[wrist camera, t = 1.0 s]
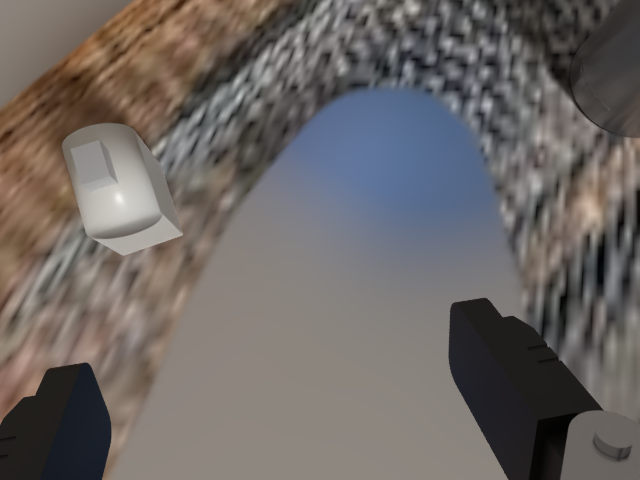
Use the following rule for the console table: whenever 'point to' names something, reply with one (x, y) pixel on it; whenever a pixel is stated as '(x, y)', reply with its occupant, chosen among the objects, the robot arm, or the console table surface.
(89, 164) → the cylinder
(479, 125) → the console table surface
